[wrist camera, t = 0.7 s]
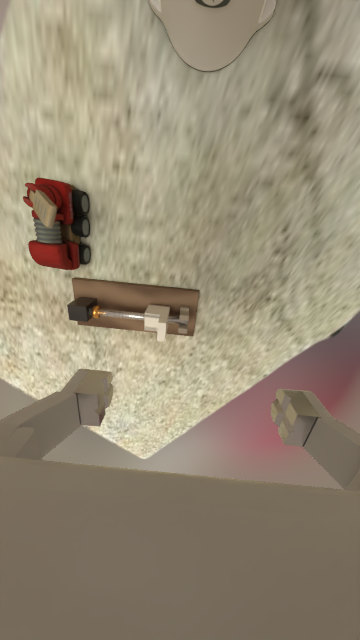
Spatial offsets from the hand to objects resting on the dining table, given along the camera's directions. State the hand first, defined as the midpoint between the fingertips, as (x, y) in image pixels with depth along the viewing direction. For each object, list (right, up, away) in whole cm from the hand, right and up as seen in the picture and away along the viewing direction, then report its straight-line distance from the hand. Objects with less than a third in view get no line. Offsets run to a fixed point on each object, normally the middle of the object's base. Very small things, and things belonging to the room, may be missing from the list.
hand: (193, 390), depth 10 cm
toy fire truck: (-23, +24, +34) cm, 48 cm away
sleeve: (-6, +5, +39) cm, 39 cm away
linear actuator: (-12, +7, +41) cm, 44 cm away
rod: (-12, +6, +40) cm, 42 cm away
